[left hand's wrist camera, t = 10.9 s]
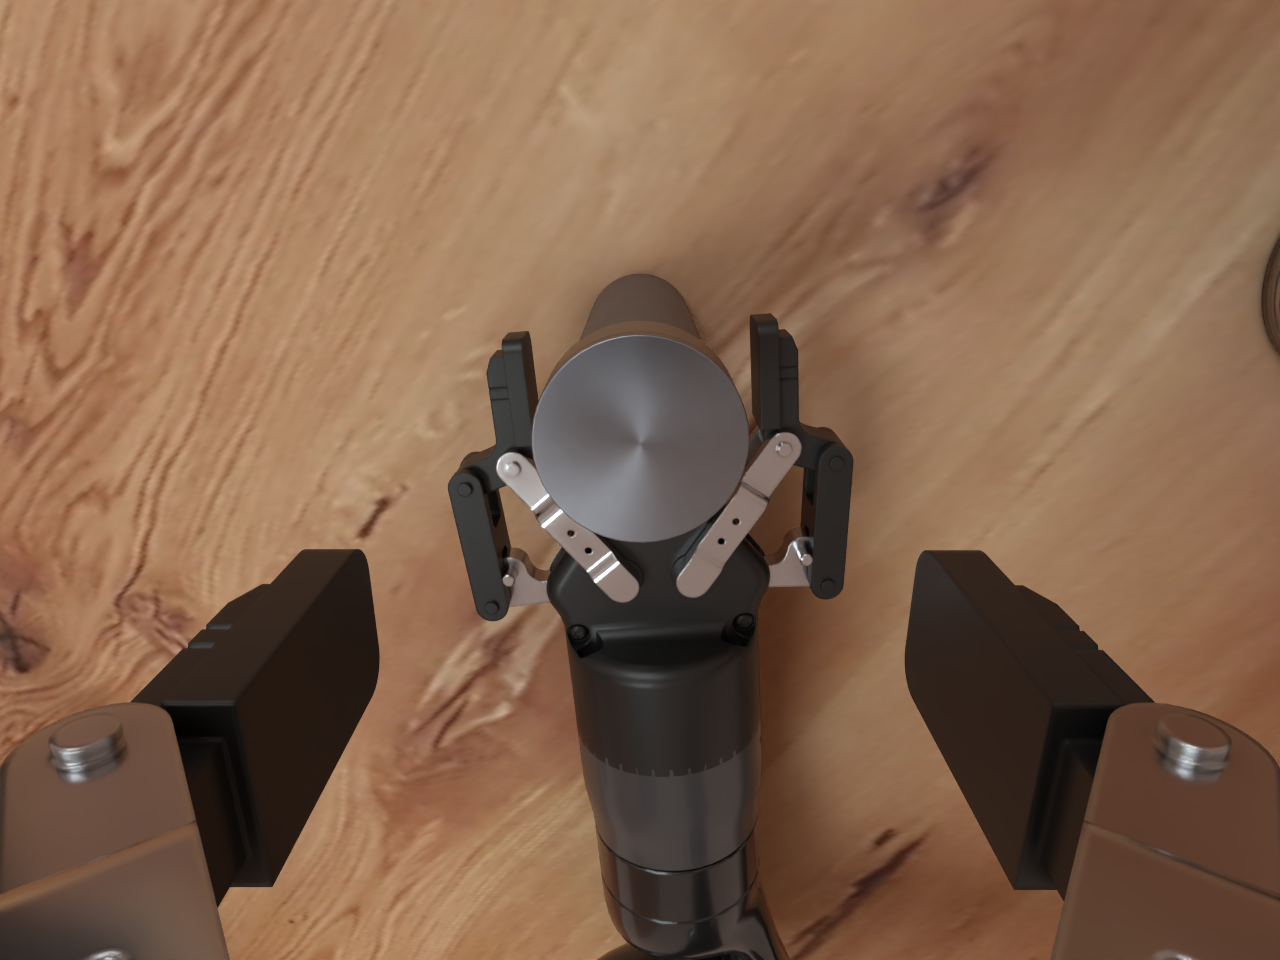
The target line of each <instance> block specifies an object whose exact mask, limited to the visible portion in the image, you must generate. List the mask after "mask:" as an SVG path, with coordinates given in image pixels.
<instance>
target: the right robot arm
mask: <svg viewBox="0 0 1280 960" xmlns="http://www.w3.org/2000/svg"><path fill="white" fill-rule="evenodd" d="M1262 306H1263V316H1264V322H1265V326H1266V329H1267V333H1268V335H1269V337H1270V340H1271V342H1272V344H1273V345H1274V347H1275V349H1276V350H1277V352H1278V353H1279V354H1280V239H1279V240H1278V242H1277V244H1276V246H1275V249H1274V251H1273V253H1272V256H1271V258H1270V261H1269V264H1268V267H1267V271H1266V275H1265V279H1264V286H1263V297H1262ZM750 350H751V383H752V414H753V416H754V418H755V420H756V422H757V424H758V425H757V426H756V428H755V429H754V431H753V432H752V433H751V435H750V436H749V451H748V457H747V462H746V466H745V469H744V472H743V474H742V477H741V480H740V482H739V484H738V485H737V487H736V489H735V491H734V493H733V494H732V495H731V497H730V498H729V500H728V501H727V502H726V504H725V505H724V506H723V507H722V508H721V509H720V510H719V511H718V512H717V513H716V514H715V515H714V516H712V517H711V518H710V519H709V520H708V521H706V522H705V523H703V524H702V525H700V526H698V527H697V528H695V529H693V530H691V531H689V532H687V533H685V534H683V535H680V536H677V537H674V538H671V539H667V540H662V541H657V542H646V543H636V542H625V541H618V540H614V539H610V538H607V537H603V536H601V535H598V534H596V533H593V532H591V531H589V530H587V529H586V528H584V527H582V526H580V525H579V524H577V523H576V522H575V521H573V520H572V519H571V518H569V517H568V516H567V515H566V514H565V513H564V512H563V511H562V510H561V509H560V508H559V507H558V506H557V505H556V504H555V503H554V501H553V500H552V499H551V498H550V496H549V495H548V493H547V491H546V490H545V488H544V486H543V485H542V482H541V480H540V478H539V476H538V473H537V470H536V467H535V463H534V460H533V453H532V446H531V431H532V423H533V417H534V414H535V410H536V406H537V404H538V394H537V386H536V378H535V369H534V361H533V353H532V345H531V338H530V334H529V332H528V331H524V332H511V333H508V334H507V335H506V336H505V337H504V338H503V340H502V350H497V351H496V352H495V353H494V355H493V356H492V357H491V358H490V361H489V365H488V369H487V380H488V387H489V394H490V400H491V408H492V414H493V421H494V428H495V435H496V444H495V445H494V446H492V447H490V448H488V449H486V450H484V451H481V452H472V453H469V454H468V455H467V456H466V457H465V458H464V459H463V461H462V462H461V465H460V467H459V469H458V471H457V472H456V473H455V474H454V475H453V476H452V478H451V480H450V481H449V484H448V492H449V496H450V500H451V504H452V509H453V513H454V517H455V521H456V526H457V530H458V534H459V538H460V543H461V547H462V551H463V555H464V559H465V564H466V568H467V572H468V576H469V581H470V585H471V589H472V593H473V598H474V602H475V606H476V610H477V612H478V614H479V615H480V616H481V617H482V618H483V619H485V620H488V621H498V620H500V619H502V618H503V617H505V615H506V614H507V612H508V608H509V607H514V606H522V605H530V604H538V603H546V602H551V604H552V605H553V606H554V608H555V609H556V610H557V611H558V613H559V614H560V616H561V618H562V620H563V623H564V626H565V631H566V639H567V647H568V655H569V663H570V671H571V679H572V687H573V695H574V704H575V711H576V720H577V728H578V736H579V743H580V751H581V759H582V767H583V775H584V780H585V786H586V789H587V793H588V796H589V800H590V803H591V806H592V809H593V813H594V818H595V823H596V832H597V840H598V849H599V857H600V865H601V874H602V883H603V889H604V895H605V901H606V904H607V908H608V911H609V915H610V917H611V920H612V922H613V924H614V925H615V927H616V929H617V931H618V932H619V933H620V934H621V936H622V937H623V938H624V939H625V940H626V941H627V942H628V943H626V944H624V945H621V946H619V947H617V948H615V949H613V950H611V951H609V952H607V953H606V954H604V955H603V956H601V957H600V958H599V959H597V960H790V959H789V956H788V954H787V952H786V950H785V947H784V945H783V943H782V941H781V939H780V937H779V934H778V932H777V930H776V927H775V924H774V921H773V918H772V915H771V912H770V909H769V906H768V902H767V899H766V896H765V892H764V888H763V885H762V881H761V876H760V872H759V850H758V820H757V803H758V795H759V789H760V782H761V766H762V749H761V719H760V681H759V648H758V608H759V604H760V601H761V599H762V597H763V595H764V594H765V592H766V590H767V589H768V587H807V586H809V587H811V590H812V592H813V594H814V595H815V596H817V597H818V598H821V599H831V598H834V597H836V596H837V595H838V594H839V593H840V592H841V591H842V589H843V584H844V572H845V559H846V547H847V534H848V522H849V509H850V497H851V484H852V472H853V457H852V455H851V453H850V452H849V450H848V449H847V448H846V447H845V445H844V444H843V443H842V442H841V440H840V439H839V438H838V437H837V435H836V434H835V433H834V432H833V431H832V430H831V429H829V428H826V427H819V428H815V427H812V426H808V425H805V424H802V423H801V422H799V398H798V349H797V347H796V345H795V342H794V340H793V338H792V336H791V335H790V334H789V333H788V332H787V331H786V330H785V329H781V330H779V329H778V322H777V319H776V318H775V317H774V316H773V315H772V314H771V313H770V314H757V315H751V316H750ZM793 465H796V466H800V467H803V468H804V476H803V493H802V511H801V528H794V529H792V530H790V531H789V532H787V534H786V535H785V537H784V539H783V544H782V546H781V548H780V549H779V550H778V551H777V552H775V553H774V554H771V555H765V554H764V552H763V550H762V549H761V547H760V546H759V545H758V544H757V543H756V542H755V541H754V539H753V538H752V537H751V536H750V535H749V534H748V532H749V531H750V529H751V528H752V527H753V525H754V524H755V523H756V521H757V520H758V519H759V517H760V516H761V515H762V513H763V512H764V511H765V509H766V507H767V505H768V502H769V498H770V496H771V494H772V492H773V491H774V489H775V488H776V487H777V485H778V484H779V483H780V481H781V480H782V479H783V477H784V476H785V475H786V473H787V472H788V471H789V469H790V468H791V467H792V466H793ZM506 485H507V486H508V487H509V488H510V489H511V490H512V491H513V492H514V493H515V494H516V495H517V496H518V497H519V498H520V499H521V500H522V501H523V502H524V503H525V504H526V505H527V506H528V507H529V508H530V509H531V510H532V511H533V512H534V514H535V516H536V519H537V521H538V523H539V524H540V525H541V527H542V528H543V529H544V530H545V531H546V532H547V533H548V534H549V535H550V536H551V537H552V538H553V539H554V540H555V541H556V542H557V543H558V544H559V545H560V546H562V548H561V550H560V551H559V553H558V554H557V556H556V557H555V559H554V561H553V562H552V564H551V567H550V570H547V571H545V570H540V569H538V568H536V567H535V566H534V565H533V564H532V563H531V561H530V559H529V556H528V554H527V553H526V552H525V551H523V550H522V549H519V548H511V545H510V540H509V536H508V531H507V526H506V522H505V517H504V512H503V507H502V503H501V498H500V493H499V488H501V487H504V486H506ZM570 530H572V531H570Z"/></svg>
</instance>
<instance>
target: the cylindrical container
mask: <svg viewBox="0 0 1280 960" xmlns="http://www.w3.org/2000/svg"><path fill="white" fill-rule="evenodd" d="M628 321H653V322H659V323H665V324H668V325H671V326H674V327H677V328H680V329H682V330H684V331H686V332H688V333H690V334H692V335H693V336H695V337H696V338H698V339H699V340H700V338H699V335H698V332H697V330H696V327H695V325H694V322H693V320H692V317H691V315H690V312H689V310H688V307H687V305H686V303H685V301H684V299H683V297H682V296H681V294H680V293H679V292H678V291H677V289H676V288H674V287H673V286H672V285H671V284H670V283H668V282H667V281H665V280H663V279H661V278H659V277H656V276H653V275H647V274H632V275H628V276H624V277H622V278H619V279H617V280H615V281H614V282H612V283H611V284H609V285H608V286H607V287H606V288H605V289H604V290H603V291H602V292H601V293H600V295H599V296H598V298H597V299H596V301H595V303H594V306H593V308H592V310H591V313H590V316H589V318H588V321H587V323H586V326H585V328H584V331H583V334H582V336H581V339H583V338H584V337H586V336H587V335H589V334H591V333H593V332H595V331H596V330H598V329H601V328H604V327H606V326H609V325H612V324H617V323H621V322H628ZM581 339H580V340H581Z"/></svg>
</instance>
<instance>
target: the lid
mask: <svg viewBox="0 0 1280 960" xmlns="http://www.w3.org/2000/svg"><path fill="white" fill-rule="evenodd" d="M531 446H532V453H533V460H534V463H535V467H536V470H537V473H538V476H539V478H540V480H541V482H542V485H543V486H544V488H545V490H546V491H547V493H548V495H549V496H550V498H551V499H552V500H553V501H554V503H555V504H556V505H557V506H558V507H559V508H560V509H561V510H562V511H563V512H564V513H565V514H566V515H567V516H568V517H569V518H571V519H572V520H573V521H575V522H576V523H577V524H579V525H580V526H582V527H584V528H586V529H587V530H589V531H591V532H593V533H596V534H598V535H601V536H603V537H607V538H610V539H614V540H618V541H625V542H636V543H646V542H657V541H662V540H667V539H671V538H674V537H677V536H680V535H683V534H685V533H687V532H689V531H691V530H693V529H695V528H697V527H698V526H700V525H702V524H703V523H705V522H706V521H708V520H709V519H710V518H711V517H712V516H714V515H715V514H716V513H717V512H718V511H719V510H720V509H721V508H722V507H723V506H724V505H725V504H726V502H727V501H728V500H729V498H730V497H731V495H732V494H733V493H734V491H735V489H736V487H737V485H738V484H739V482H740V480H741V477H742V474H743V472H744V469H745V466H746V462H747V457H748V451H749V425H748V420H747V415H746V411H745V408H744V405H743V402H742V399H741V397H740V395H739V393H738V391H737V389H736V387H735V385H734V383H733V381H732V378H731V376H730V374H729V372H728V370H727V369H726V367H725V366H724V364H723V363H722V361H721V360H720V358H719V357H718V356H717V355H716V354H715V353H714V352H713V351H712V350H711V349H710V348H709V347H708V346H707V345H706V344H705V343H703V342H702V341H701V340H699V339H698V338H696V337H695V336H693V335H692V334H690V333H688V332H686V331H684V330H682V329H680V328H677V327H674V326H671V325H668V324H665V323H659V322H653V321H628V322H621V323H617V324H612V325H609V326H606V327H604V328H601V329H598V330H596V331H595V332H593V333H591V334H589V335H587V336H586V337H584V338H583V339H581V340H580V341H579V342H577V343H576V344H575V345H574V346H573V347H571V348H570V349H569V350H568V351H567V352H566V353H565V355H564V356H563V357H562V358H561V359H560V361H559V362H558V363H557V365H556V367H555V368H554V370H553V372H552V373H551V375H550V377H549V379H548V382H547V384H546V386H545V388H544V390H543V392H542V394H541V397H540V399H539V401H538V404H537V406H536V410H535V414H534V417H533V423H532V431H531Z"/></svg>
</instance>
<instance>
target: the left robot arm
mask: <svg viewBox="0 0 1280 960" xmlns="http://www.w3.org/2000/svg"><path fill="white" fill-rule="evenodd" d="M905 672H906V679H907V684H908V688H909V691H910V694H911V696H912V699H913V701H914V702H915V704H916V706H917V708H918V710H919V712H920V714H921V716H922V718H923V719H924V721H925V723H926V725H927V727H928V729H929V731H930V733H931V734H932V736H933V738H934V740H935V742H936V744H937V746H938V748H939V750H940V751H941V753H942V755H943V757H944V759H945V761H946V763H947V765H948V766H949V768H950V770H951V772H952V774H953V776H954V778H955V780H956V782H957V783H958V785H959V787H960V789H961V791H962V793H963V795H964V797H965V798H966V800H967V802H968V804H969V806H970V808H971V810H972V812H973V813H974V815H975V817H976V819H977V821H978V823H979V825H980V827H981V829H982V830H983V832H984V834H985V836H986V838H987V840H988V842H989V844H990V845H991V847H992V849H993V851H994V853H995V855H996V857H997V859H998V861H999V862H1000V864H1001V866H1002V868H1003V870H1004V872H1005V874H1006V876H1007V877H1008V879H1009V881H1010V883H1011V885H1012V887H1013V889H1014V890H1058V892H1059V894H1060V896H1061V897H1062V899H1063V901H1064V905H1063V909H1062V913H1061V917H1060V921H1059V925H1058V930H1057V934H1056V938H1055V942H1054V946H1053V950H1052V954H1051V959H1050V960H1280V768H1279V766H1278V764H1277V762H1276V761H1275V759H1274V758H1273V757H1272V755H1271V754H1270V753H1269V752H1268V751H1267V750H1266V749H1265V748H1264V747H1263V746H1262V745H1261V744H1260V743H1259V742H1257V741H1256V740H1254V739H1253V738H1252V737H1250V736H1249V735H1248V734H1246V733H1244V732H1243V731H1241V730H1239V729H1238V728H1236V727H1234V726H1232V725H1230V724H1228V723H1226V722H1224V721H1222V720H1220V719H1217V718H1215V717H1212V716H1210V715H1207V714H1204V713H1201V712H1198V711H1195V710H1192V709H1188V708H1184V707H1180V706H1175V705H1170V704H1162V703H1155V702H1154V701H1153V700H1152V699H1151V698H1150V697H1149V696H1148V695H1147V694H1146V693H1145V692H1144V691H1143V690H1142V689H1141V688H1140V687H1139V686H1138V685H1137V684H1136V683H1135V682H1134V681H1133V680H1132V679H1131V678H1130V677H1129V676H1128V675H1127V674H1126V673H1125V672H1124V671H1123V670H1122V669H1121V668H1120V667H1119V666H1118V665H1117V664H1116V663H1115V662H1114V661H1113V660H1112V659H1111V658H1110V657H1109V656H1108V655H1107V654H1106V653H1105V652H1104V651H1103V650H1098V645H1097V644H1096V643H1095V642H1094V641H1093V640H1092V639H1091V638H1090V637H1089V636H1088V635H1087V634H1086V633H1085V632H1084V631H1080V630H1079V626H1078V625H1077V624H1076V623H1075V622H1074V621H1073V620H1072V619H1071V618H1070V617H1069V616H1068V615H1067V614H1066V613H1065V612H1064V611H1063V610H1062V609H1061V608H1060V607H1059V606H1058V605H1057V604H1056V603H1054V602H1052V601H1050V600H1048V599H1047V598H1045V597H1043V596H1041V595H1039V594H1037V593H1036V592H1034V591H1032V590H1030V589H1028V588H1027V587H1025V586H1023V585H1014V584H1013V583H1012V582H1011V581H1010V580H1009V578H1008V577H1007V576H1006V575H1005V574H1004V573H1003V572H1002V571H1001V570H1000V569H999V568H998V567H997V566H996V565H995V564H994V562H993V561H992V560H991V559H990V558H989V557H988V556H987V555H986V554H985V553H984V552H982V551H980V550H925V551H923V552H922V553H921V555H920V557H919V559H918V562H917V565H916V571H915V579H914V586H913V594H912V602H911V609H910V617H909V624H908V632H907V640H906V647H905ZM378 673H379V644H378V637H377V629H376V621H375V613H374V606H373V598H372V590H371V582H370V574H369V567H368V563H367V559H366V557H365V555H364V553H363V552H362V551H361V550H360V549H304V550H302V551H301V552H300V553H299V554H298V555H297V556H296V557H295V558H294V559H293V560H292V561H291V562H290V563H289V565H288V566H287V567H286V568H285V569H284V570H283V571H282V572H281V573H280V574H279V575H278V576H277V578H276V579H275V580H274V581H273V582H272V583H271V584H262V585H260V586H258V587H256V588H254V589H253V590H251V591H249V592H247V593H245V594H244V595H242V596H240V597H238V598H236V599H235V600H233V601H231V602H229V603H228V604H227V605H226V606H225V607H224V608H223V609H222V610H221V611H220V612H219V613H218V614H217V615H216V616H215V617H214V618H213V619H212V620H211V621H210V622H209V623H208V624H207V625H206V630H201V631H200V632H199V633H198V634H197V635H196V636H195V637H194V638H193V639H192V640H191V641H190V642H189V643H188V648H187V649H182V650H181V651H180V652H179V653H178V654H177V655H176V656H175V657H174V658H173V659H172V660H171V661H170V662H169V663H168V664H167V665H166V666H165V667H164V669H163V670H162V671H161V672H160V673H159V674H158V675H157V676H156V677H155V678H154V679H153V680H152V681H151V682H150V683H149V684H148V685H147V686H146V687H145V688H144V689H143V690H142V691H141V692H140V693H139V694H138V695H137V696H136V697H135V698H134V699H133V700H132V701H131V702H130V703H118V704H110V705H105V706H100V707H96V708H92V709H88V710H85V711H82V712H79V713H76V714H73V715H70V716H68V717H65V718H63V719H60V720H58V721H56V722H54V723H52V724H50V725H48V726H46V727H44V728H42V729H41V730H39V731H37V732H36V733H34V734H32V735H31V736H30V737H28V738H27V739H26V740H24V741H23V742H21V743H20V744H19V745H18V746H17V747H16V748H15V749H14V750H13V751H12V752H11V753H10V754H9V755H8V756H7V758H6V759H5V761H4V762H3V764H2V766H1V768H0V960H230V959H229V954H228V950H227V946H226V942H225V938H224V934H223V930H222V925H221V921H220V917H219V913H218V909H217V908H218V906H219V905H220V903H221V901H222V899H223V898H224V896H225V894H226V893H227V891H228V889H229V887H273V885H274V883H275V881H276V879H277V877H278V875H279V873H280V871H281V870H282V868H283V866H284V864H285V862H286V860H287V858H288V856H289V854H290V852H291V850H292V849H293V847H294V845H295V843H296V841H297V839H298V837H299V835H300V833H301V831H302V829H303V828H304V826H305V824H306V822H307V820H308V818H309V816H310V814H311V812H312V810H313V809H314V807H315V805H316V803H317V801H318V799H319V797H320V795H321V793H322V791H323V789H324V788H325V786H326V784H327V782H328V780H329V778H330V776H331V774H332V772H333V770H334V768H335V767H336V765H337V763H338V761H339V759H340V757H341V755H342V753H343V751H344V749H345V747H346V746H347V744H348V742H349V740H350V738H351V736H352V734H353V732H354V730H355V728H356V726H357V725H358V723H359V721H360V719H361V717H362V715H363V713H364V711H365V709H366V707H367V706H368V704H369V702H370V700H371V698H372V696H373V694H374V691H375V688H376V684H377V679H378Z"/></svg>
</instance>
